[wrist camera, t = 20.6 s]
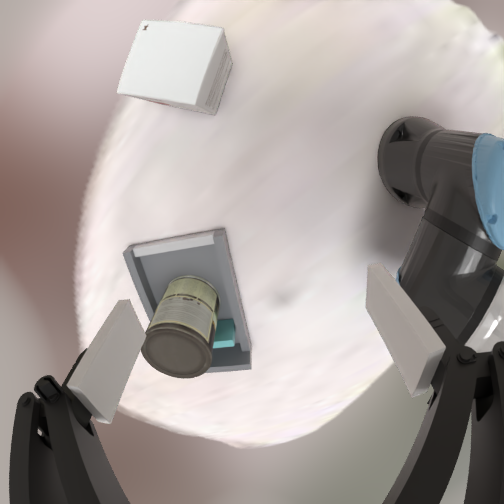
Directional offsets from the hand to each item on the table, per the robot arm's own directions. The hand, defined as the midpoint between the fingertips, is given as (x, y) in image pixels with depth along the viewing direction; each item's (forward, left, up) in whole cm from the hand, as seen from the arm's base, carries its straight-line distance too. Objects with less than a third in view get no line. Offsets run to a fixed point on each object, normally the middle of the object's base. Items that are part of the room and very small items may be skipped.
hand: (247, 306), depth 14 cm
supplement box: (+5, -18, -29) cm, 34 cm away
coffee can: (+13, +17, -28) cm, 36 cm away
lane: (+14, +18, -29) cm, 36 cm away
